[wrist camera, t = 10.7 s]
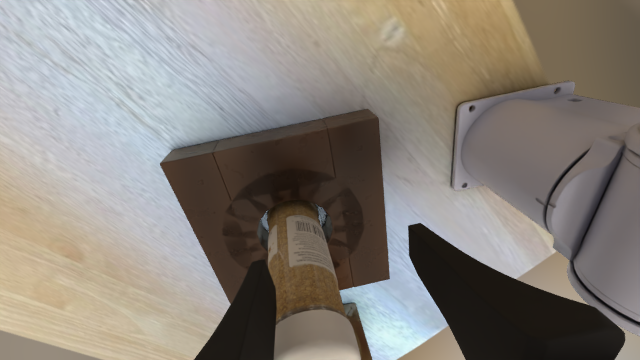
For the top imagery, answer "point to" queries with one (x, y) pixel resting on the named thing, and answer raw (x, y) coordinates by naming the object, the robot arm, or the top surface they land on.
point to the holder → (287, 194)
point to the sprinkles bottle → (306, 288)
